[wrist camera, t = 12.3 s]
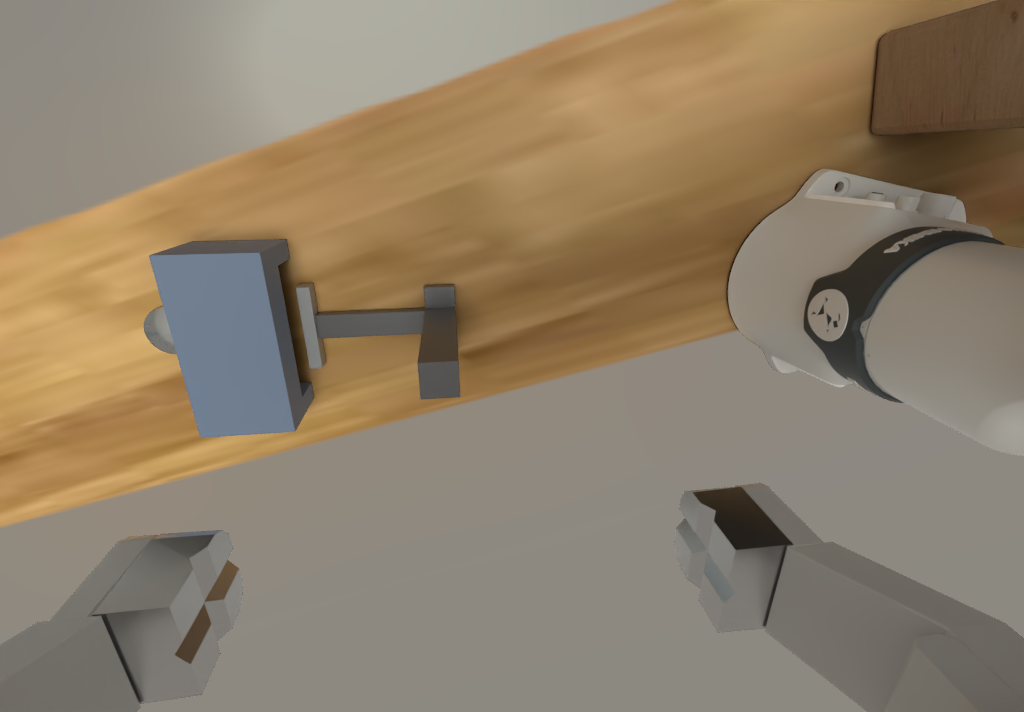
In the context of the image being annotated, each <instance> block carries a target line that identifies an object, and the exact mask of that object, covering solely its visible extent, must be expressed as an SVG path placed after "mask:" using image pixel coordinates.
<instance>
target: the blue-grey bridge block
mask: <svg viewBox="0 0 1024 712" xmlns="http://www.w3.org/2000/svg"><path fill="white" fill-rule="evenodd" d="M149 258H150V261H151V265H152V268H153V272H154V275H155V279H156V282H157V286H158V290H159V293H160V297H161V300H162V304H163V307H164V311H165V314H166V318H167V321H168V325H169V328H170V332H171V335H172V339H173V342H174V346H175V350H176V353H177V357H178V360H179V364H180V367H181V371H182V374H183V378H184V381H185V385H186V388H187V392H188V395H189V399H190V402H191V406H192V410H193V413H194V417H195V420H196V424H197V427H198V431H199V434H200V438H205V437H220V436H235V435H251V434H266V433H282V432H295V431H296V429H297V427H298V426H299V424H300V422H301V420H302V418H303V417H304V415H305V413H306V411H307V409H308V408H309V406H310V404H311V402H312V400H313V399H314V393H313V388H312V382H306V383H300V382H299V377H298V371H297V366H296V361H295V355H294V350H293V344H292V339H291V334H290V328H289V323H288V317H287V312H286V307H285V301H284V296H283V291H282V285H281V280H280V274H279V269H278V265H280V264H282V263H283V262H285V261H286V260H288V259H289V258H290V256H289V251H288V245H287V239H279V240H234V241H192V242H189V243H186V244H183V245H180V246H177V247H174V248H170V249H167V250H164V251H161V252H158V253H155V254H152V255H149Z"/></svg>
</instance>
